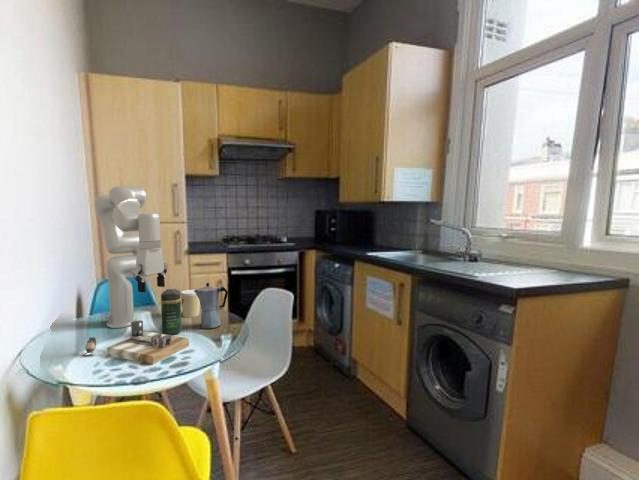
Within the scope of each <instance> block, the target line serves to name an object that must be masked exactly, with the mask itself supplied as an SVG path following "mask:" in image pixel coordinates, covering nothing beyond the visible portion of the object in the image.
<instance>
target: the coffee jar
mask: <svg viewBox="0 0 639 480" xmlns="http://www.w3.org/2000/svg"><path fill="white" fill-rule="evenodd" d="M160 294H161V295H160V302H161V303H160V304H161V305H160V307H161V310H160V311H161V313H160V314H161V334H165V335H171V336H175V335H176V334H180V333H181V332H182V300H181V291H180V290H178V289H176V288H171V289H170V288H169V289H166V290H164V291H162V293H160Z"/></svg>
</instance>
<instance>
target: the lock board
mask: <svg viewBox="0 0 639 480" xmlns="http://www.w3.org/2000/svg"><path fill="white" fill-rule="evenodd" d="M143 335H149V336H152V337H151V342H146V341H140V340H134V339H130V337H129V338H127V339H124V340H122V341H119V342H117V343H114V344H112V345H109V346H107V347H106V349H107V350H106V351H107V356H111V357H116V358H121V359H125V360H130V361H134V362H135V361H136V362H140V363H145V364H149V365H155V364H157V363H159V362H161V361H162V360H165V359H166V358H168V357H170V356H172V355H174V354H176V353H178V352H180V351H182V350H184V349H186V348H188V347H189V345H190V339H189V337H188V338H187V337H182V336H175V335H165V334H162V332H161V333H157V332H152V331H145V332H144V331H143ZM157 337H160V338H159V342H158V343H155V338H157Z"/></svg>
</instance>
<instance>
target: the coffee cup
mask: <svg viewBox="0 0 639 480" xmlns="http://www.w3.org/2000/svg"><path fill="white" fill-rule="evenodd" d="M195 290H196V289H187V290H183V291H180V296H181V310H182V316H183V317H184V318H195V317H198V316H199V315H200V312H201V305H200V301H199V298H198V296H197V295H196V293H195V292H194V291H195Z"/></svg>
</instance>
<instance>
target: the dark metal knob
mask: <svg viewBox="0 0 639 480" xmlns="http://www.w3.org/2000/svg"><path fill="white" fill-rule="evenodd" d="M130 331H131V334H129V338H130V339H134V340H140V341H146V342H151V337H152V336H149V335H143V333H144V322H143V320H138V321H133V322H131V326H130ZM159 338H160V337H157V338H155V343H158V342H159Z"/></svg>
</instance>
